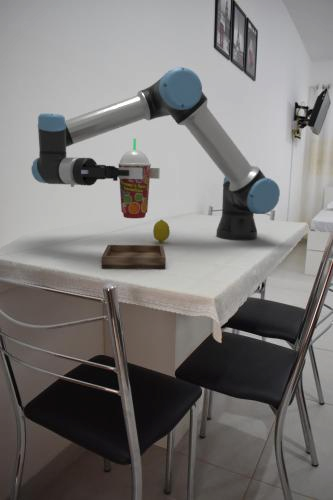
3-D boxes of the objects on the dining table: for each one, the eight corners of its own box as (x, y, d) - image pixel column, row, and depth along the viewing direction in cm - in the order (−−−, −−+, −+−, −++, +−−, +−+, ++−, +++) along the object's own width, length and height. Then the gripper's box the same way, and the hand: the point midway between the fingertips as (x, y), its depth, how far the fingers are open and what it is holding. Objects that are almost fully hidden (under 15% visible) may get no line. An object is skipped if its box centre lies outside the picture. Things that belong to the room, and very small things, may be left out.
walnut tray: (163, 255, 114) (163, 245, 113) (165, 269, 98) (165, 257, 98) (108, 254, 113) (108, 244, 112) (101, 268, 97) (101, 257, 97)
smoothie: (119, 219, 98) (118, 137, 94) (117, 215, 107) (117, 139, 102) (151, 219, 100) (152, 138, 96) (148, 215, 108) (149, 140, 104)
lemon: (169, 241, 135) (170, 218, 133) (168, 244, 129) (168, 220, 128) (154, 241, 135) (154, 218, 134) (152, 244, 130) (152, 220, 128)
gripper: (102, 184, 119) (169, 187, 109) (53, 186, 101) (128, 189, 90) (102, 158, 117) (169, 159, 107) (52, 156, 99) (128, 156, 89)
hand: (150, 173), depth 99 cm, fingers closed on smoothie, 8 cm apart
